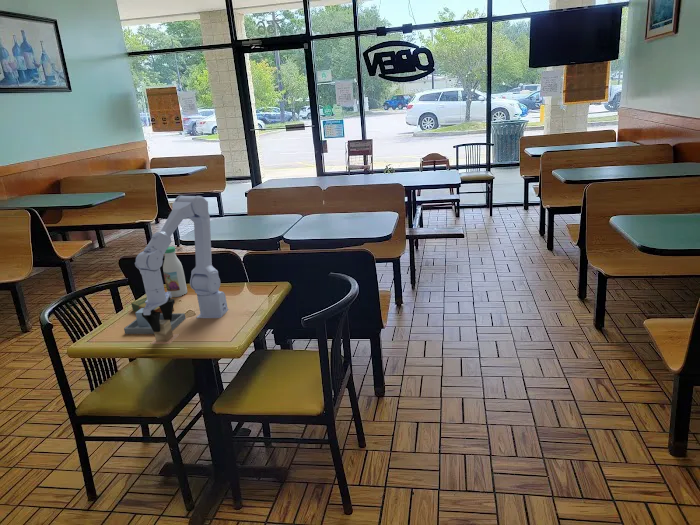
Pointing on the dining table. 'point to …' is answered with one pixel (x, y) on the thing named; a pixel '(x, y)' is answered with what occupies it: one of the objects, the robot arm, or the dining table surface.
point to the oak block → (164, 331)
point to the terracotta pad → (167, 341)
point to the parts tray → (134, 328)
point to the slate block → (141, 319)
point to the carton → (143, 305)
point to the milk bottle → (174, 274)
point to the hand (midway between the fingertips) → (162, 326)
